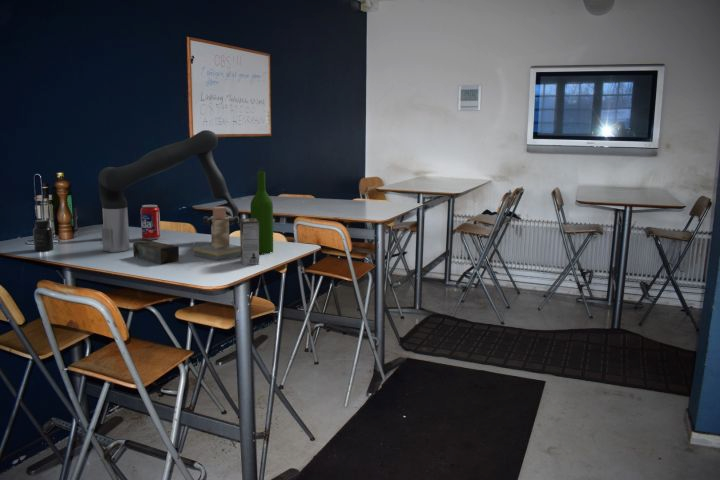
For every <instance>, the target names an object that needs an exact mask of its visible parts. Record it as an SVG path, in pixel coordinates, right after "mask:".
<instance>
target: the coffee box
mask: <svg viewBox="0 0 720 480" xmlns="http://www.w3.org/2000/svg"><path fill="white" fill-rule="evenodd" d="M239 237H240V239H239V240H240V242H239V246H241V256H240V262H241V264H242V266H246V265H245V264H254V265H257V264H256V263H259V264H260V254H259V222H258V220H257V218H251V217H250V218H247V217H246V218H239Z"/></svg>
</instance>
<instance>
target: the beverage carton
mask: <svg viewBox="0 0 720 480" xmlns="http://www.w3.org/2000/svg"><path fill="white" fill-rule="evenodd" d="M132 247H133V249H132V250H133V251H132V252H133V258H135V259H139V260H143V261H147V262H150V263H155V264H157V265H158V264H159V265H165V264H166V265H167V264H172V263H179V261H180V257H179V256H180V247H179V245H173V244H171V243H170V244H169V243H164V242H159V241H154V240H144V241H142V240H138V241H136V242H133V244H132Z"/></svg>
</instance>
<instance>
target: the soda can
mask: <svg viewBox="0 0 720 480" xmlns="http://www.w3.org/2000/svg"><path fill="white" fill-rule="evenodd" d="M160 218H161V216H160V208H159V207H158V205H157V204H144V205H143V204H142V205H141V208H140V225H141V226H140V228H141V229H140V230H141V238H142V239H143V240H145V239H146V240H145V241H150V240H151V241H154V240H158V239H159V238H161V221H160V220H161V219H160Z"/></svg>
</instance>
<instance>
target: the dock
mask: <svg viewBox="0 0 720 480" xmlns="http://www.w3.org/2000/svg"><path fill="white" fill-rule="evenodd" d="M229 245H230V249H218V250H215V249H214V248H212V244H208V245H203V246H196V247H194V248H193V251H194V256H197V257H202V258H206V259H210V260H213V261H221V260H226V259H231V258H236V257H241V245H237V244H231V243H229Z"/></svg>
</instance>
